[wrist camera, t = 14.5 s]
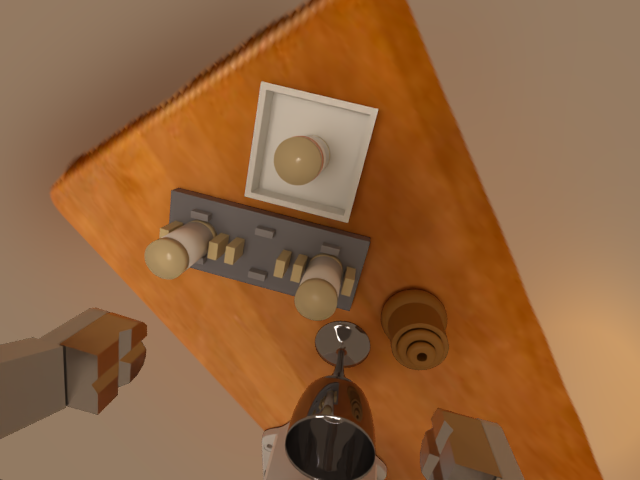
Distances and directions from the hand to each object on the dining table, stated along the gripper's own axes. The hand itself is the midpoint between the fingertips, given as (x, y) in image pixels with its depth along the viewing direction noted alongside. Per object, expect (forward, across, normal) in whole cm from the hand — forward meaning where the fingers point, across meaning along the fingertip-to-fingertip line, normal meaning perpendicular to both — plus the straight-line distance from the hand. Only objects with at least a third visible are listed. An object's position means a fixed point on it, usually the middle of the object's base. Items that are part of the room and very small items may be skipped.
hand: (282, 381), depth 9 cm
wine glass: (+30, -4, +19) cm, 36 cm away
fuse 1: (+27, +16, +8) cm, 33 cm away
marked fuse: (+28, +5, -4) cm, 29 cm away
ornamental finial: (+30, -10, +12) cm, 34 cm away
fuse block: (+29, +8, +8) cm, 31 cm away
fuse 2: (+28, +1, +8) cm, 29 cm away
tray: (+29, +5, -4) cm, 29 cm away
